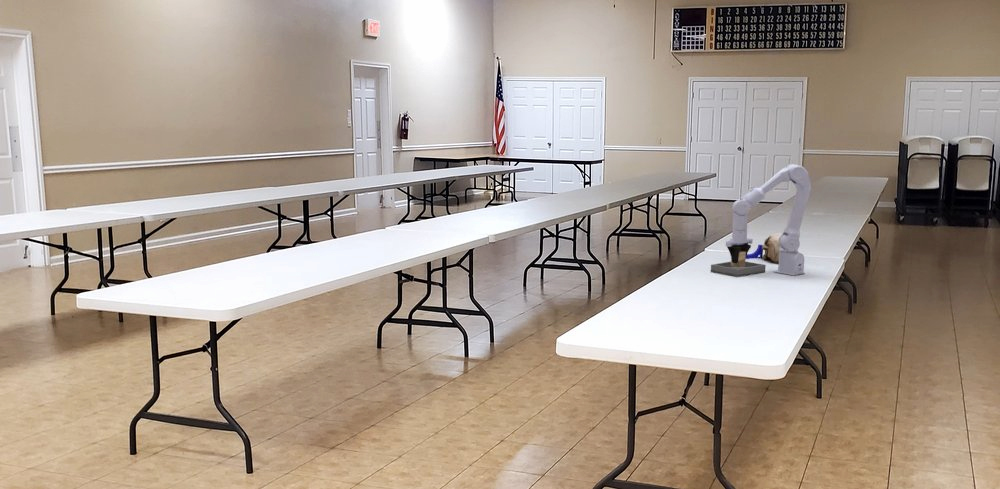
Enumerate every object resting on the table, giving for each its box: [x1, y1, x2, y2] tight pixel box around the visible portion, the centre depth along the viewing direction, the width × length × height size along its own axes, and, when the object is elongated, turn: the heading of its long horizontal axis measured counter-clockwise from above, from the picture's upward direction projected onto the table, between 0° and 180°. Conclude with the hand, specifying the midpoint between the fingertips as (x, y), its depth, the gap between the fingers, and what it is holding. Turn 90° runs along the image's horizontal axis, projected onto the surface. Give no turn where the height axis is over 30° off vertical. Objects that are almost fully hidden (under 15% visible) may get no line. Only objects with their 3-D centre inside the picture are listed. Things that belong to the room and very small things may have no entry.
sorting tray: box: [710, 260, 767, 278], centre depth 345 cm, size 14×18×3 cm
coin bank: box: [762, 232, 783, 264], centre depth 370 cm, size 16×17×13 cm
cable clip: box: [745, 244, 764, 260], centre depth 378 cm, size 12×4×6 cm, turn 85°
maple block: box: [730, 251, 746, 267], centre depth 345 cm, size 4×4×6 cm
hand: (738, 262), depth 345 cm, fingers closed on maple block, 4 cm apart
